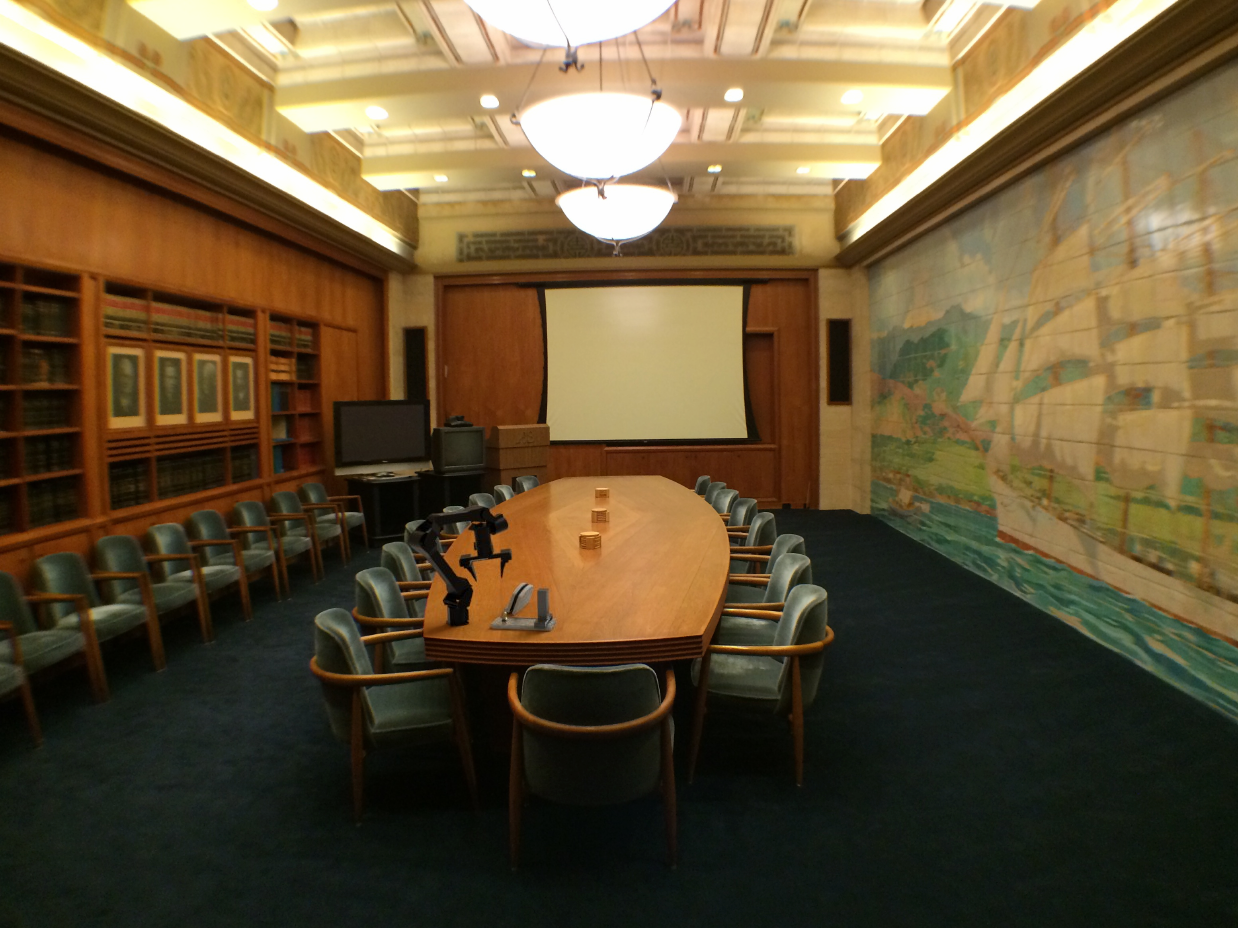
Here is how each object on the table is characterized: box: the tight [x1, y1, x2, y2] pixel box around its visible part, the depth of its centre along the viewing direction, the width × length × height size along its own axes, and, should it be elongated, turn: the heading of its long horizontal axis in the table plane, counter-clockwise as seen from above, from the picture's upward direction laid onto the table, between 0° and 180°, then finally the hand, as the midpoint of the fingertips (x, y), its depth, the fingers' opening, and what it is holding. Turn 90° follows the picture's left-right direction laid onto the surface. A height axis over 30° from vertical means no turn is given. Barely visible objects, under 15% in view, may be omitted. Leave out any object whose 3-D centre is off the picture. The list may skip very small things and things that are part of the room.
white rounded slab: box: [502, 582, 535, 616], centre depth 259 cm, size 17×5×10 cm, turn 169°
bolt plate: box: [490, 611, 557, 632], centre depth 239 cm, size 21×8×4 cm, turn 82°
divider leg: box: [534, 587, 554, 629], centre depth 238 cm, size 4×10×12 cm, turn 172°
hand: (489, 579), depth 253 cm, fingers open, 9 cm apart
